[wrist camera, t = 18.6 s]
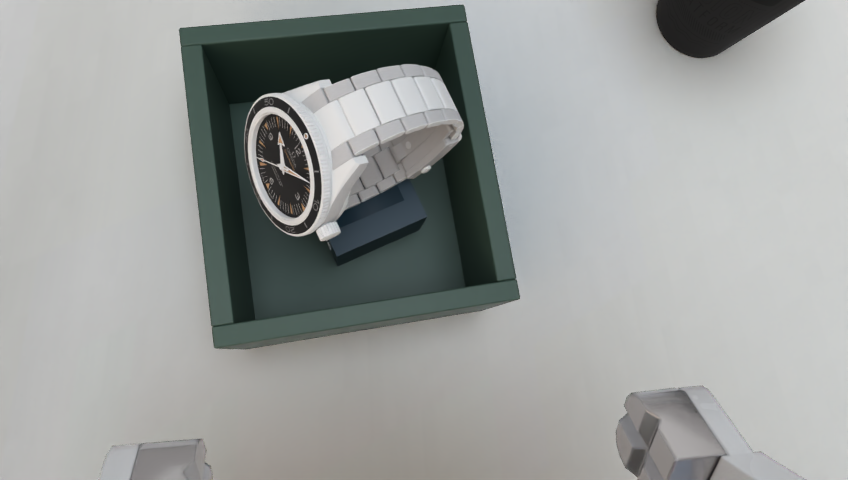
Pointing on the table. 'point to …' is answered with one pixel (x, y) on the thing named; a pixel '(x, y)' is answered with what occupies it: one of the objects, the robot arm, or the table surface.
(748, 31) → the drinking cup
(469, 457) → the table surface
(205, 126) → the open box
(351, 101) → the watch
